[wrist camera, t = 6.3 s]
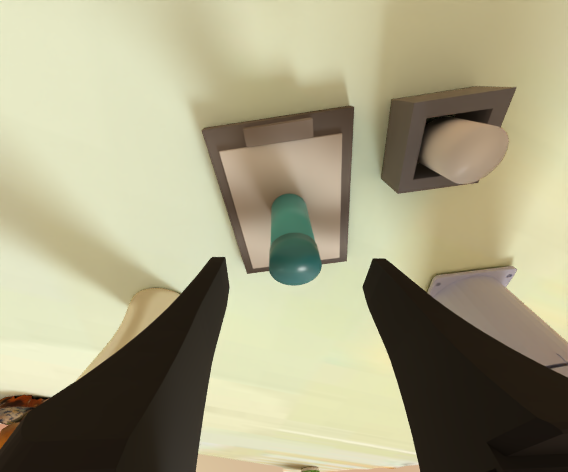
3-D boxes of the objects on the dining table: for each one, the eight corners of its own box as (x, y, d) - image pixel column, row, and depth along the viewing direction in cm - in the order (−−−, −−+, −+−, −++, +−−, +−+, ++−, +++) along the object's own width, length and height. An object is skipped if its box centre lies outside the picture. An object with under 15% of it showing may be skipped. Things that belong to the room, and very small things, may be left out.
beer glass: (112, 289, 21) (-99, 565, 9) (181, 279, 21) (56, 553, 9) (148, 329, 25) (35, 558, 13) (207, 321, 25) (145, 550, 13)
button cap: (452, 161, 14) (493, 180, 12) (409, 168, 14) (439, 187, 12) (468, 112, 13) (519, 121, 10) (418, 120, 13) (456, 130, 10)
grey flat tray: (344, 255, 20) (348, 265, 19) (248, 267, 21) (246, 278, 19) (350, 105, 13) (357, 108, 12) (205, 127, 14) (198, 132, 13)
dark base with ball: (25, 419, 40) (-19, 479, 34) (-18, 393, 33) (-83, 462, 27) (96, 418, 41) (65, 476, 35) (68, 392, 35) (25, 458, 29)
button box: (450, 169, 16) (478, 182, 14) (381, 178, 16) (397, 193, 14) (476, 86, 13) (516, 87, 11) (391, 99, 13) (414, 102, 11)
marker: (308, 222, 17) (322, 282, 12) (273, 227, 17) (273, 288, 12) (306, 190, 15) (320, 243, 10) (267, 195, 15) (264, 250, 11)
